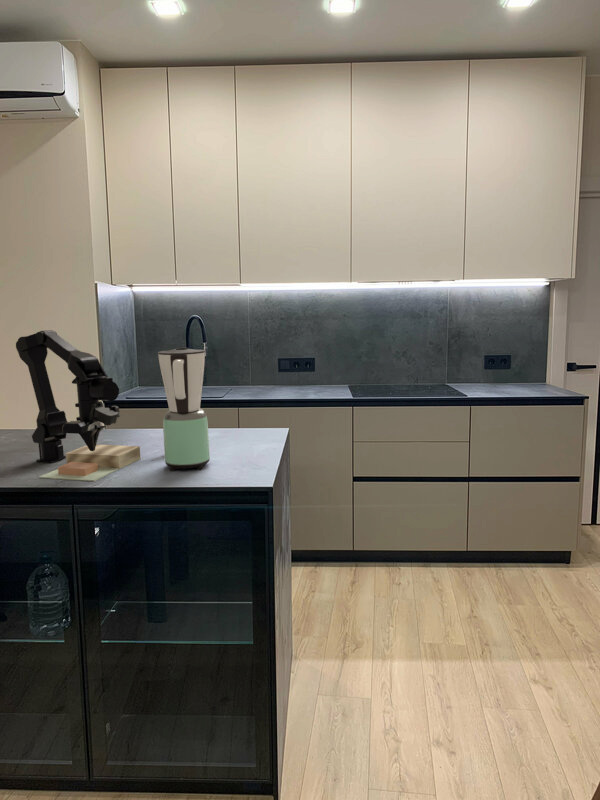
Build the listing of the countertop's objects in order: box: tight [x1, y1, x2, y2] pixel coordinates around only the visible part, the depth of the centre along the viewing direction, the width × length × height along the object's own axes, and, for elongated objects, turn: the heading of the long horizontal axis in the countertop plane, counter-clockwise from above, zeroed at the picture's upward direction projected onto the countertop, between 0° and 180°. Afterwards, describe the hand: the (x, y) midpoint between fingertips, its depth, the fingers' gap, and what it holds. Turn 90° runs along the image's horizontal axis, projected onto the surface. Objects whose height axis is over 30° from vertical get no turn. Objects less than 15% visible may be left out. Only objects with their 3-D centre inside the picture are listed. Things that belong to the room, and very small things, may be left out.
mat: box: [38, 467, 120, 482], centre depth 173 cm, size 18×12×1 cm, turn 75°
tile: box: [57, 462, 98, 476], centre depth 173 cm, size 9×6×2 cm, turn 74°
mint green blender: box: [157, 347, 211, 472], centre depth 174 cm, size 19×13×35 cm
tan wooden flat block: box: [65, 444, 141, 470], centre depth 184 cm, size 18×12×4 cm, turn 75°
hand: (92, 450), depth 179 cm, fingers closed
